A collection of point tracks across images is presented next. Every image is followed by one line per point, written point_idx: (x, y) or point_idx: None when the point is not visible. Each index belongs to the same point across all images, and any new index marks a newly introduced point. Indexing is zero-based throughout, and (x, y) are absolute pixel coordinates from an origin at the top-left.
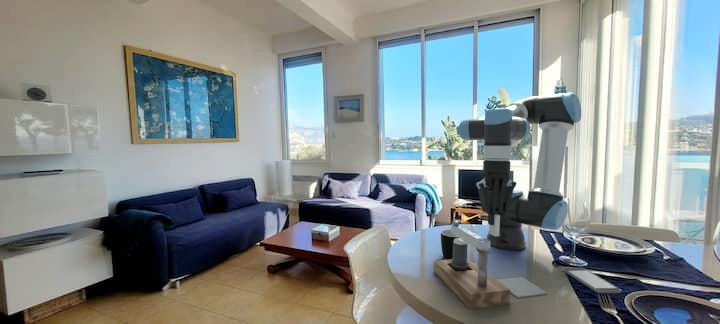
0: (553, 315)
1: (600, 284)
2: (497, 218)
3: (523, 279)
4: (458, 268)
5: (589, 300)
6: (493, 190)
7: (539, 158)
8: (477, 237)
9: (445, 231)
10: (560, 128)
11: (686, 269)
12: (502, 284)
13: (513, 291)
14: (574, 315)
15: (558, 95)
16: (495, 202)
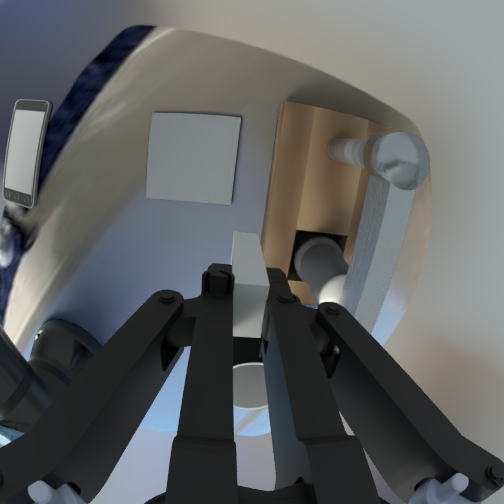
0: (222, 43)
1: (25, 126)
2: (252, 273)
3: (152, 185)
4: (336, 243)
5: (92, 76)
6: (364, 465)
7: None
8: (403, 201)
9: (256, 404)
10: None
11: None
12: (283, 130)
13: (229, 140)
14: (178, 34)
15: None
16: (287, 358)
